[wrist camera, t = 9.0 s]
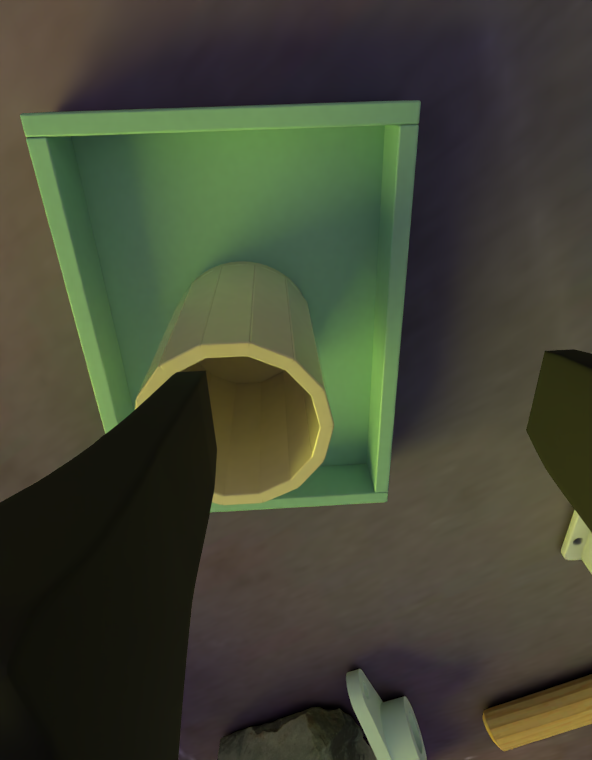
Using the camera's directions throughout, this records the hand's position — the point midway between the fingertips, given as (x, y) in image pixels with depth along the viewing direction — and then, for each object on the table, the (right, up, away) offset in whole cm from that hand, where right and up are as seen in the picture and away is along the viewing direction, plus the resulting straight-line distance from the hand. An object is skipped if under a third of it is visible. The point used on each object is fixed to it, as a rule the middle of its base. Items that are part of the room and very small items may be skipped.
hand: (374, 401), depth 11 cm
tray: (-4, +3, +9) cm, 10 cm away
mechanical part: (+4, -20, +23) cm, 31 cm away
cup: (-4, +3, +9) cm, 10 cm away
